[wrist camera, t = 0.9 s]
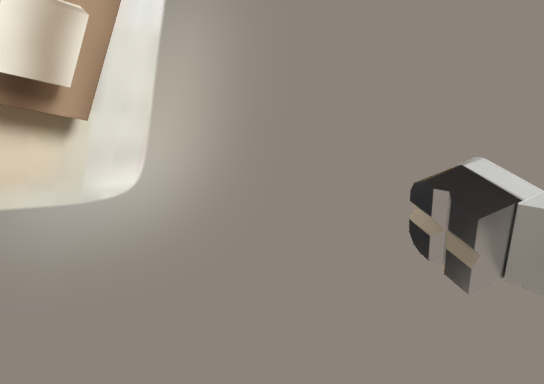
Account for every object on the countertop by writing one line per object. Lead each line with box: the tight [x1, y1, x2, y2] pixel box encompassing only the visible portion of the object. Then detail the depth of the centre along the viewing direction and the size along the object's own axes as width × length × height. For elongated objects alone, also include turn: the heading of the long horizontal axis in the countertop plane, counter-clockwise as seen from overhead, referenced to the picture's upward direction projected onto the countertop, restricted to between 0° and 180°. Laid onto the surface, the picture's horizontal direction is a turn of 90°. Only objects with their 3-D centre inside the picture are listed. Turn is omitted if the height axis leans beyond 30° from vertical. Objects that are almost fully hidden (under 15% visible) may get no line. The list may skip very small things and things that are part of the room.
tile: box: [0, 0, 89, 87], centre depth 33 cm, size 5×5×2 cm
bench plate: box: [0, 0, 121, 121], centre depth 35 cm, size 11×11×3 cm
